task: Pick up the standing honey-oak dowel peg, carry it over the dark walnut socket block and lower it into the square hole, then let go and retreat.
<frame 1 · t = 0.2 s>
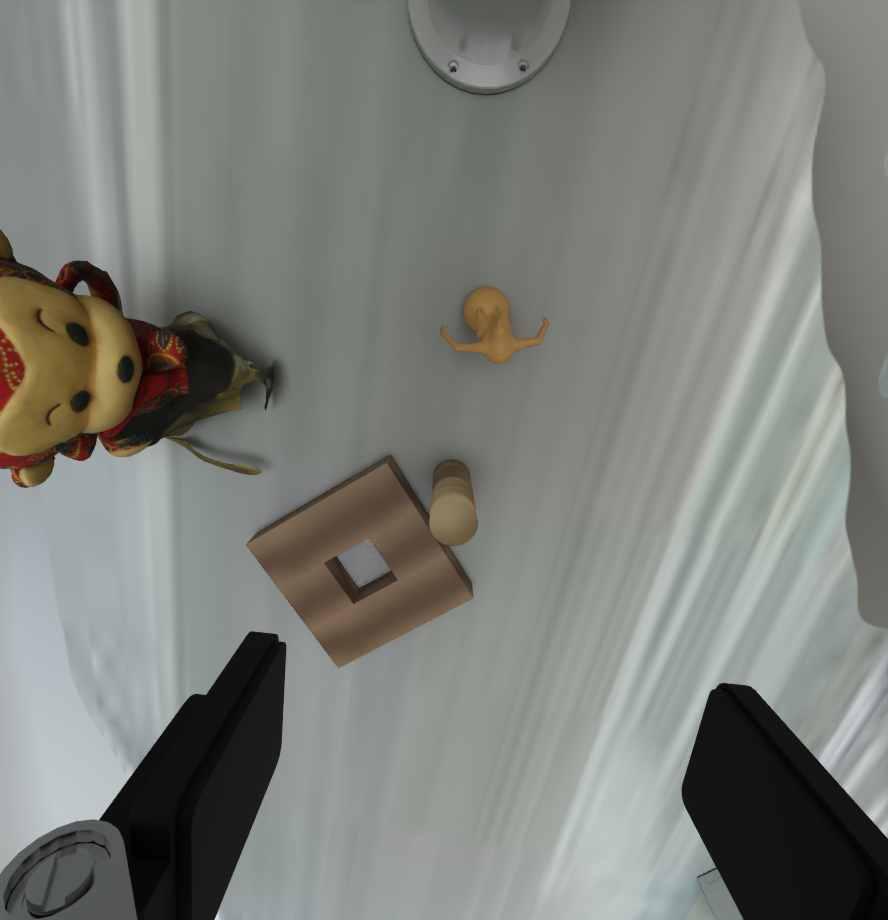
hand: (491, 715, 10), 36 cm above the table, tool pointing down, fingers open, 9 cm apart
socket block: (366, 557, 49), on the table
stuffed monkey: (207, 378, 45), on the table
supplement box: (733, 878, 60), on the table
figurine: (485, 324, 43), on the table
peg: (451, 477, 47), on the table
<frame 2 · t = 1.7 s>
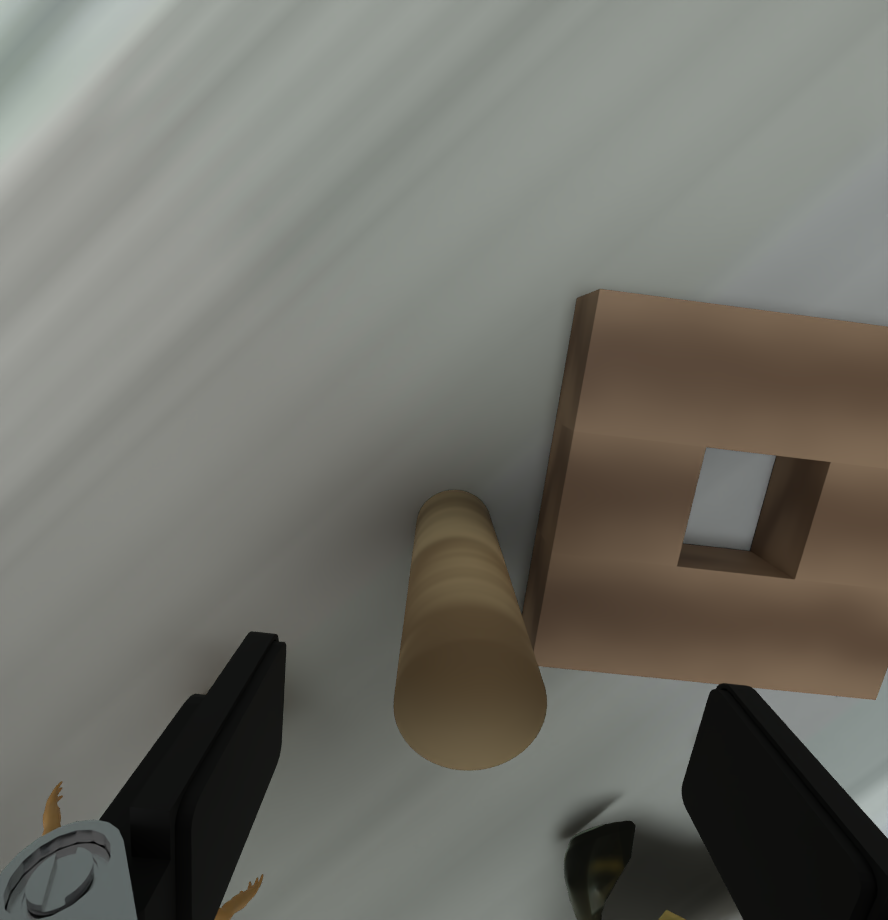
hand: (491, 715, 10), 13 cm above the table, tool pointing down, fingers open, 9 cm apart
socket block: (711, 494, 23), on the table
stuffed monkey: (664, 872, 28), on the table
figurine: (239, 699, 25), on the table
peg: (453, 525, 23), on the table
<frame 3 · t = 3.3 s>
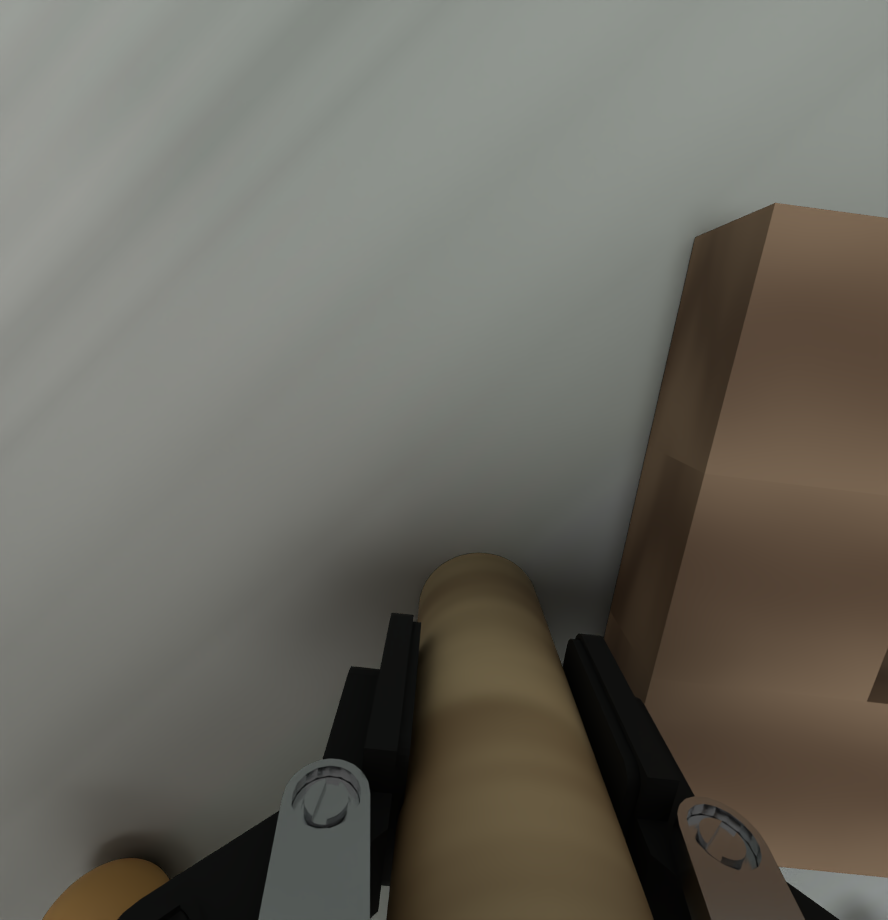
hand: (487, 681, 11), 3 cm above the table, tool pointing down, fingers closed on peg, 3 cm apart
figurine: (158, 847, 17), on the table
peg: (478, 607, 14), on the table, touching gripper
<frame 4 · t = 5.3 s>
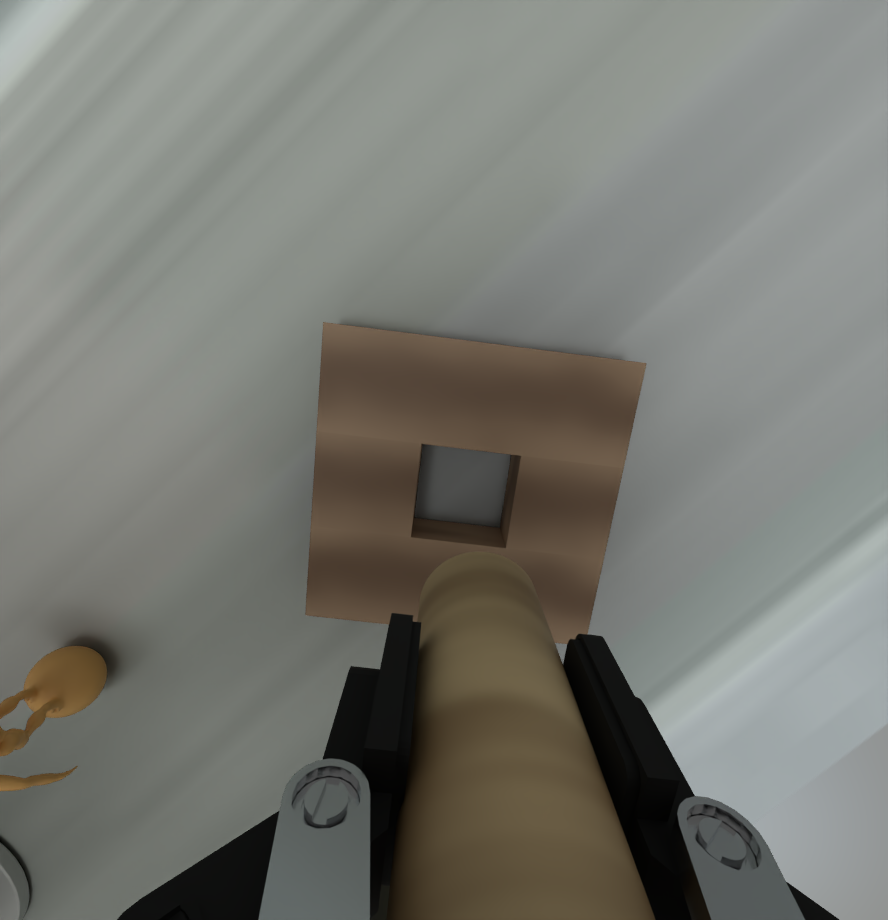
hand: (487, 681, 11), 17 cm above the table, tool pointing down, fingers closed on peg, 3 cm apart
socket block: (462, 481, 28), on the table
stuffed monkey: (461, 795, 34), on the table
figurine: (99, 646, 31), on the table
peg: (478, 606, 14), point 14 cm above the table, touching gripper
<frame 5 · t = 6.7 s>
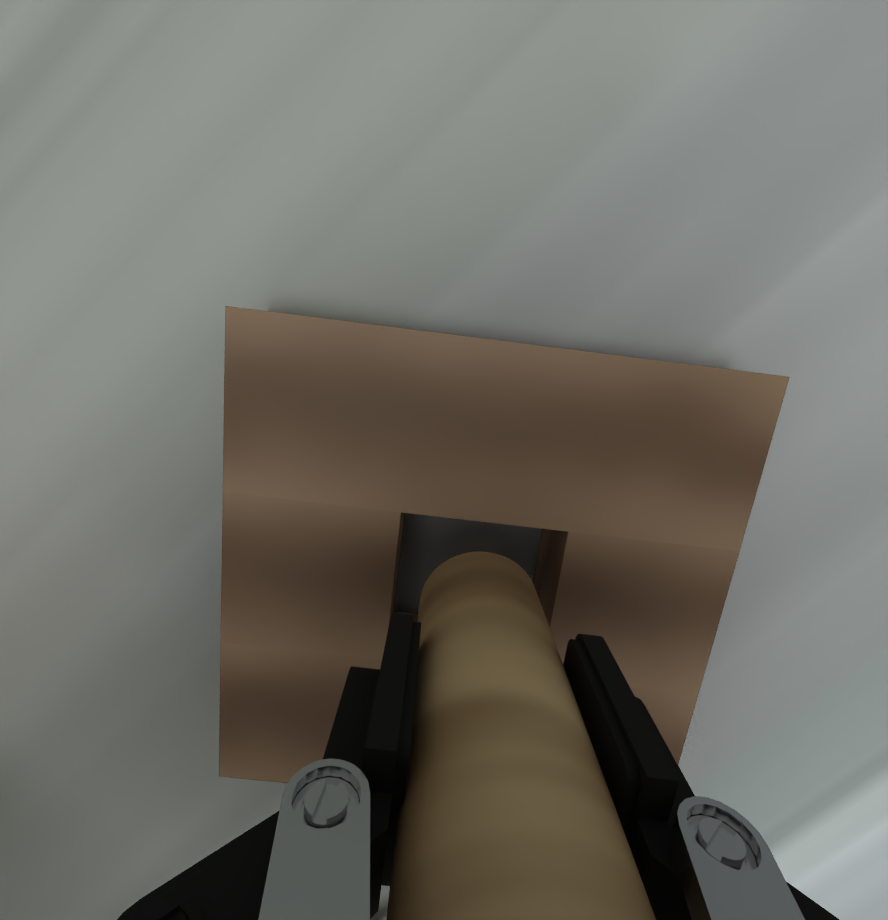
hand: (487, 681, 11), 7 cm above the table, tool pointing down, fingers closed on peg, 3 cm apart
socket block: (468, 557, 18), on the table
peg: (478, 606, 14), point 4 cm above the table, touching gripper
when the fingers open (4 cm above the table, at t = 7.5 s): peg stays where it is, resting in socket block.
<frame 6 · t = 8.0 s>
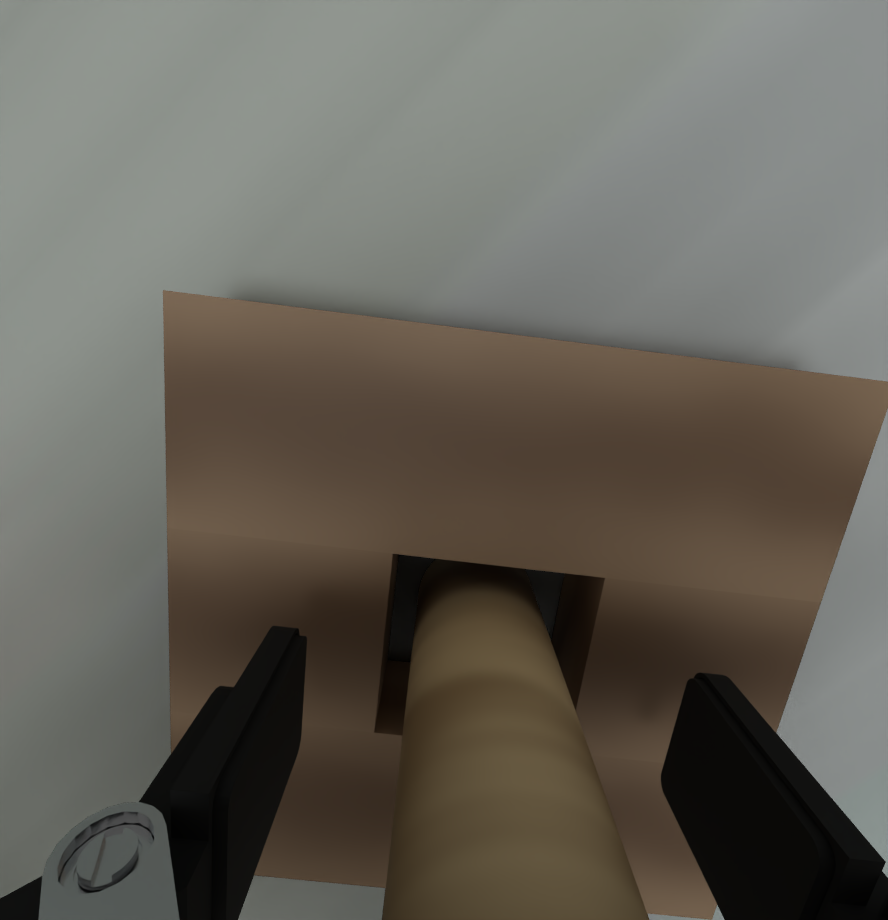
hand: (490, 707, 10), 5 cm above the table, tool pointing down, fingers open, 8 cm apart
socket block: (477, 597, 15), on the table
peg: (475, 597, 15), resting in socket block
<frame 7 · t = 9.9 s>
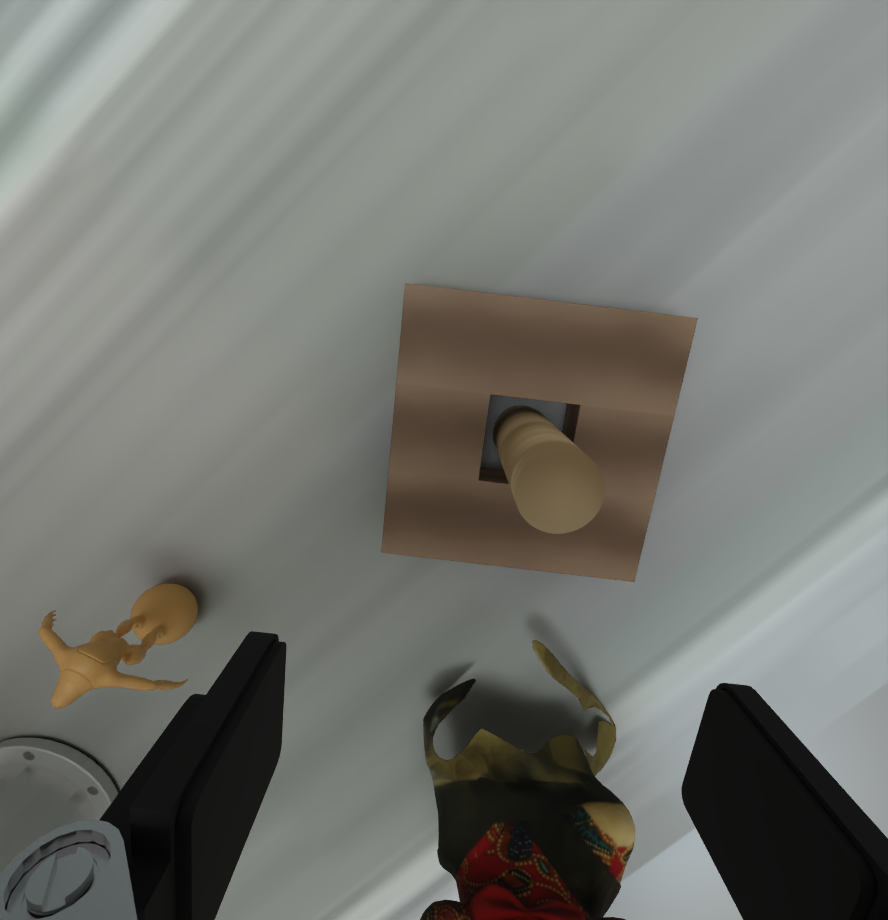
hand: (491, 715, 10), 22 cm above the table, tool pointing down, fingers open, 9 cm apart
socket block: (521, 433, 31), on the table
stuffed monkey: (513, 727, 37), on the table
figurine: (188, 585, 34), on the table
peg: (520, 433, 31), resting in socket block
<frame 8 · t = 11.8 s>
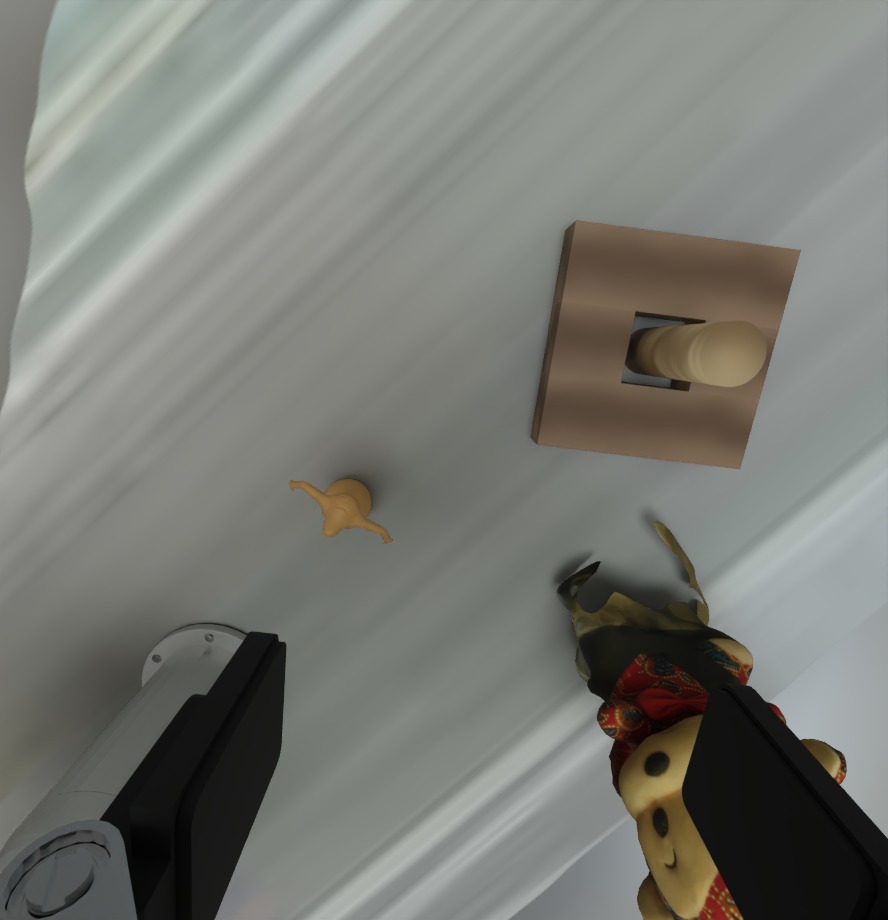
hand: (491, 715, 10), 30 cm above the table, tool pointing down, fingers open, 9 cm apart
socket block: (646, 351, 38), on the table
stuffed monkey: (621, 610, 44), on the table
figurine: (358, 485, 41), on the table
peg: (645, 351, 38), resting in socket block
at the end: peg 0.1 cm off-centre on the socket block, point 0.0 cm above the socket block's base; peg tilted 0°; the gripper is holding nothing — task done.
